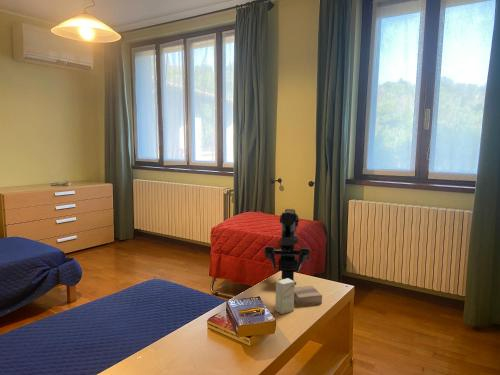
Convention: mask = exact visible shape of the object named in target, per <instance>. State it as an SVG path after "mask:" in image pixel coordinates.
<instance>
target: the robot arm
mask: <svg viewBox="0 0 500 375" xmlns="http://www.w3.org/2000/svg"><path fill="white" fill-rule="evenodd" d="M299 219H300V218H299V215H298V214H297V213H296V209H294V208H293V209H292V208H289V209H288V208H286V209H284V212H282V213H281V214H280V216H279V224H280V225H281V238H280V243H279V249H275V246H274V245H273V246H272V245H271V246H269V245H266V246H265V247H264V257H265V258H267V259H268V260H269V261H270V262H271V264H272V268H273V272H276V267H277V266H276V255H279V256H280V257H279V258H278V271H279V272H281V278H279V279H278V280H282V279H286V278H289V279H291V280H293V281H295V279H294V278H295V275H294V274H295V273H297V274H298V273H299V272H300V270H301V267H302V265H303V264H304V262H306V261H309V260H310V257H311V256H310V254H311V250H310V248H309V247H300V248H299V250H295V245H298V243H299V241H298V239H299V237H298V235H296V232H297V229H298V227H299V222H300V221H299ZM296 256H298V259H297V258H296ZM294 285H297V282H296V281H295V284H294Z"/></svg>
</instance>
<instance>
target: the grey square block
mask: <svg viewBox="0 0 500 375" xmlns="http://www.w3.org/2000/svg"><path fill="white" fill-rule="evenodd" d="M294 303H295V304H297V305H298V307H303V306H305V305H306V306H313V305H322V304H323V294H322V293H321V292H319V291H318V290H317V289H316V288H315V287H314V286H313V285H306V286H305V285H304V286H296V287H295V286H294Z"/></svg>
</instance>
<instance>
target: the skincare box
mask: <svg viewBox="0 0 500 375" xmlns="http://www.w3.org/2000/svg"><path fill="white" fill-rule="evenodd" d="M295 282H296V281H295V280H294V281H293V280H291V279H289V278H286V279H282V280H279V279H278V280H276V281H275V306H274V307H275V308H274V309H275V311H276V312H278V313H279V314H281V315H284V314H287V313H291V312H294V311H295V301H294V287H295V285H296V284H295Z"/></svg>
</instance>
